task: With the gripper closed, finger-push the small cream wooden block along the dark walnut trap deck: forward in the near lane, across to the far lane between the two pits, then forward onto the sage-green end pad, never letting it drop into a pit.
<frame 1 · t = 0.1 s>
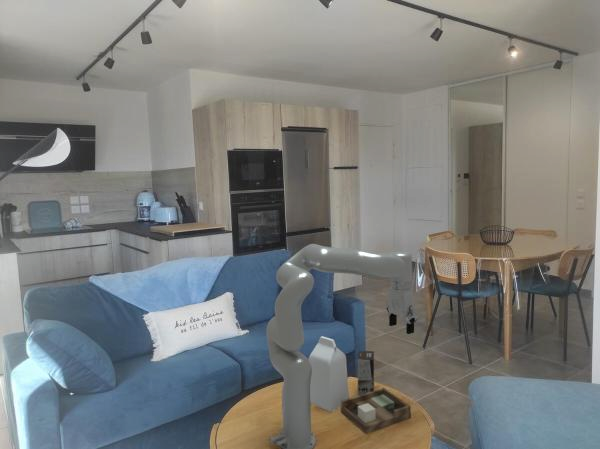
hand: (401, 329, 167), 31 cm above the table, fingers open, 9 cm apart
milk: (328, 401, 177), on the table
coffee box: (366, 392, 183), on the table
trap deck: (375, 414, 166), on the table
block: (366, 418, 160), point 2 cm above the table, touching trap deck
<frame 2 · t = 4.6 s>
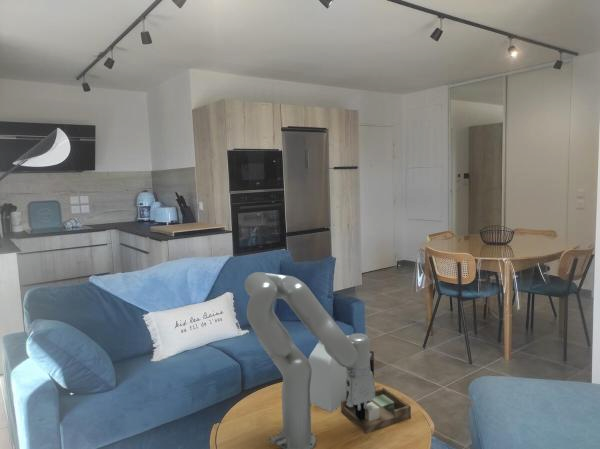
hand: (360, 418, 159), 3 cm above the table, fingers closed
block: (370, 416, 161), point 3 cm above the table, touching gripper
everything else where it was.
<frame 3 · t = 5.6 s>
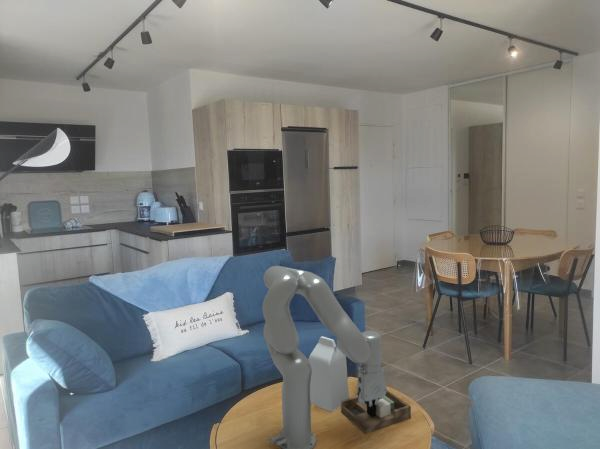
hand: (371, 414, 161), 3 cm above the table, fingers closed
block: (381, 413, 163), point 2 cm above the table, touching gripper, trap deck
everything else where it was.
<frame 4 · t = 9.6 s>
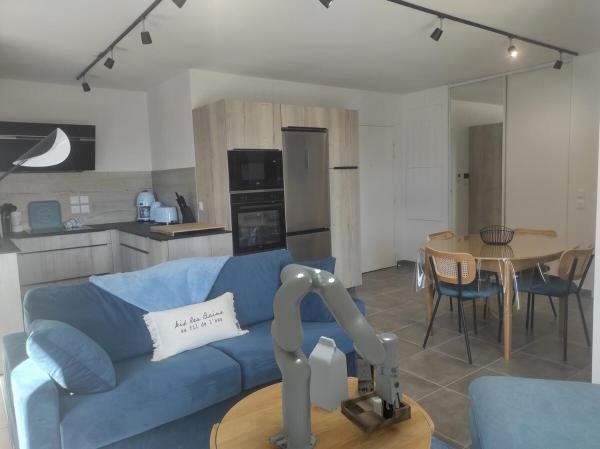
hand: (388, 417, 159), 3 cm above the table, fingers closed
block: (382, 411, 164), point 3 cm above the table, touching gripper
everything else where it was.
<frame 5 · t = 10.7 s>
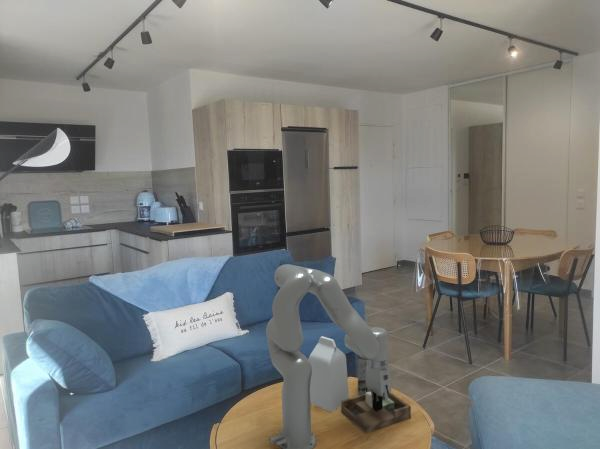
hand: (377, 409, 164), 3 cm above the table, fingers closed
block: (373, 404, 169), point 3 cm above the table
everything else where it was.
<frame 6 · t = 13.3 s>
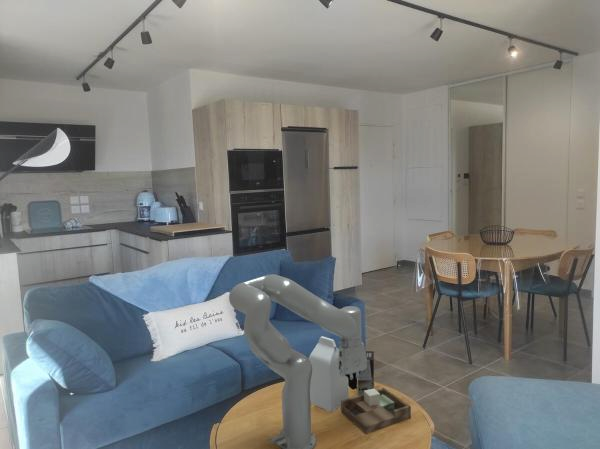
hand: (352, 387, 165), 11 cm above the table, fingers closed
block: (371, 402, 171), point 2 cm above the table, touching trap deck
everything else where it was.
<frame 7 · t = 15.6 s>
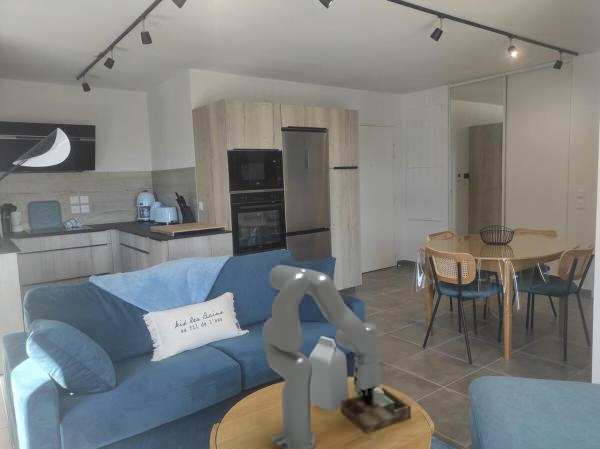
hand: (367, 402, 169), 3 cm above the table, fingers closed
block: (376, 400, 172), point 3 cm above the table, touching trap deck
everything else where it was.
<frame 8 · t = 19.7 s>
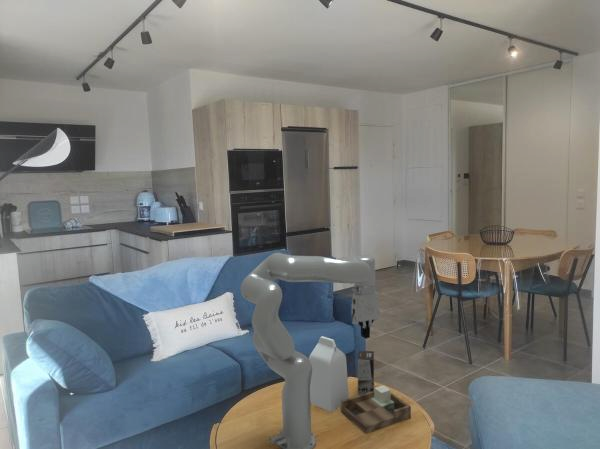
hand: (365, 336, 166), 29 cm above the table, fingers closed
block: (382, 398, 173), point 2 cm above the table, touching trap deck
everything else where it was.
at the end: block inside the target area (1.1 cm from its centre), point 2.5 cm above the table; block tilted 0° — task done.
